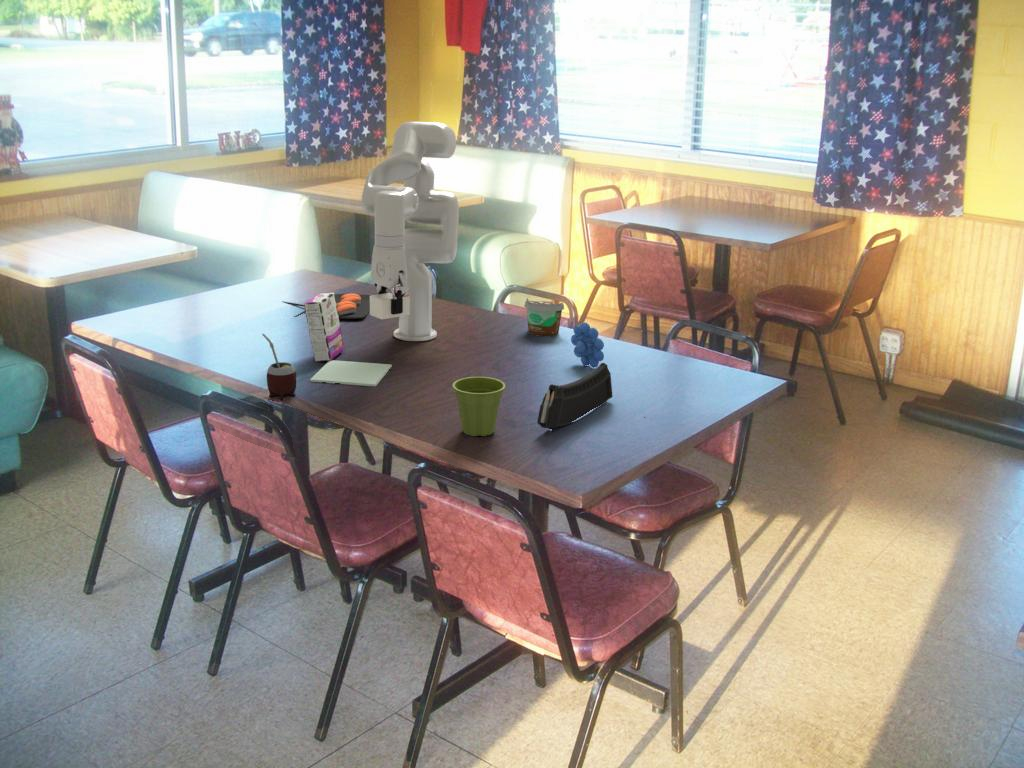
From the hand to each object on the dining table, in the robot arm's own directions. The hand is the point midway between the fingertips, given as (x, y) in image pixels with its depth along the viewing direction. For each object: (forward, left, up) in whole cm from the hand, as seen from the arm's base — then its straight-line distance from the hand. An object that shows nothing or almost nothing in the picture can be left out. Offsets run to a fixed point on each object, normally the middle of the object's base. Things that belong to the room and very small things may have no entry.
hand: (390, 310), depth 279 cm
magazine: (+21, +50, -18) cm, 57 cm away
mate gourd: (+23, -22, -18) cm, 36 cm away
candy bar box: (-11, -20, -17) cm, 29 cm away
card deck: (0, 0, -1) cm, 1 cm away
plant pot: (+36, +29, -18) cm, 49 cm away
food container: (-48, +34, -18) cm, 62 cm away
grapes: (-19, +49, -18) cm, 56 cm away
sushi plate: (-61, -37, -18) cm, 74 cm away
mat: (+2, -10, -17) cm, 20 cm away
